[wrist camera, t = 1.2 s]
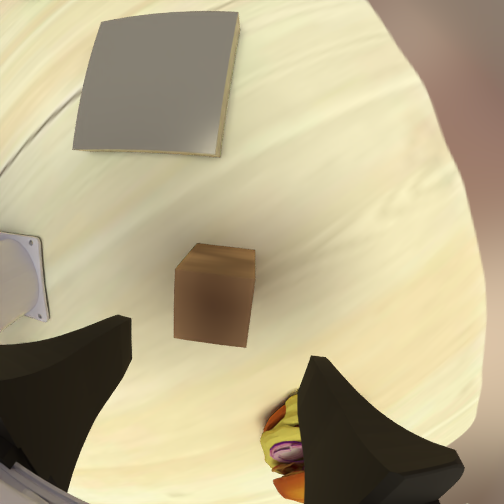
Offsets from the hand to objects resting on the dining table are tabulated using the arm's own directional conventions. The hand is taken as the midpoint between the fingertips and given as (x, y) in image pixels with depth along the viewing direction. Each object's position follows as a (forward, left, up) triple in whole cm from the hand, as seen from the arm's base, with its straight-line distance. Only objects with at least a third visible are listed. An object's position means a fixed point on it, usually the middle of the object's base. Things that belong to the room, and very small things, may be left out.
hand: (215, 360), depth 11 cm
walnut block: (-1, 0, -10) cm, 10 cm away
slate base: (-7, +13, -11) cm, 18 cm away
